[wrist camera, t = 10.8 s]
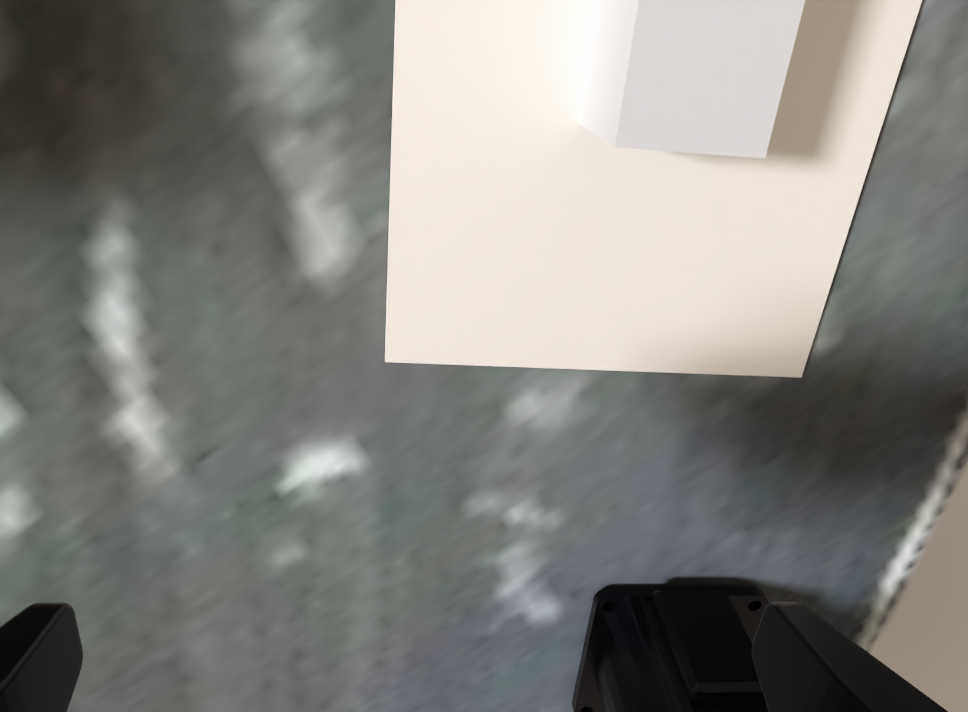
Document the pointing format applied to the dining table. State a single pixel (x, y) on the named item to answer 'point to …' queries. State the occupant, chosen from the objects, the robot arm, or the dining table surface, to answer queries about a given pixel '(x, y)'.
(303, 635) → the dining table surface
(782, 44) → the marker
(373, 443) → the dining table surface
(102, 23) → the dining table surface
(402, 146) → the paper
